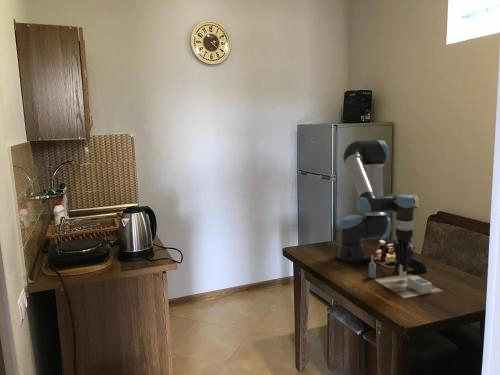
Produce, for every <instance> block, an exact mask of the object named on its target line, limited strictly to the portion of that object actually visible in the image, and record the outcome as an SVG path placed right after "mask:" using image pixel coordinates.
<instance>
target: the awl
mask: <svg viewBox="0 0 500 375" xmlns="http://www.w3.org/2000/svg"><path fill="white" fill-rule="evenodd" d="M370 258H371V261H370V262H369V263H368V278H370V279H375V278H376V279H377V264H376V263H375V262H374V255H371V257H370Z"/></svg>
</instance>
